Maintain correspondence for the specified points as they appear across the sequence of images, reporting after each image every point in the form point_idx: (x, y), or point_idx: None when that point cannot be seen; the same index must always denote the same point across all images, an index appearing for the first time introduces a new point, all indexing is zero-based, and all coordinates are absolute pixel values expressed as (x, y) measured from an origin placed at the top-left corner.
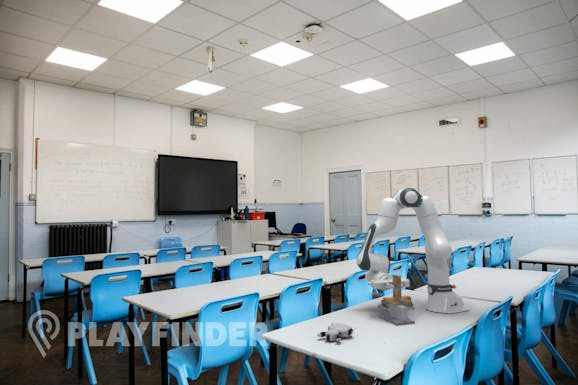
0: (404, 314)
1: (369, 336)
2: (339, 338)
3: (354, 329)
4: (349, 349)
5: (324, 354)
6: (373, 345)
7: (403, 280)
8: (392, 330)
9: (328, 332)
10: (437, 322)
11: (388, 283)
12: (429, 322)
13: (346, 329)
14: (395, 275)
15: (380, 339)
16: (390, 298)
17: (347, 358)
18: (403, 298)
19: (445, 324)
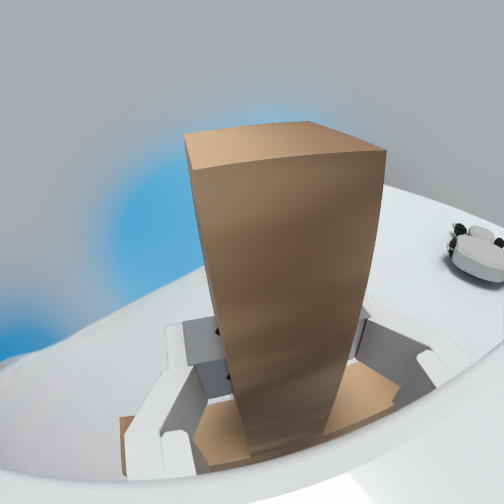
0: None
1: (406, 273)
2: (455, 224)
3: (447, 246)
4: (423, 218)
5: (451, 207)
6: (383, 231)
7: (13, 484)
8: None
9: (485, 229)
10: (77, 415)
11: (431, 352)
12: (109, 424)
13: (461, 236)
14: (306, 128)
15: (372, 257)
16: (355, 367)
17: (412, 198)
18: (211, 408)
19: (68, 384)
